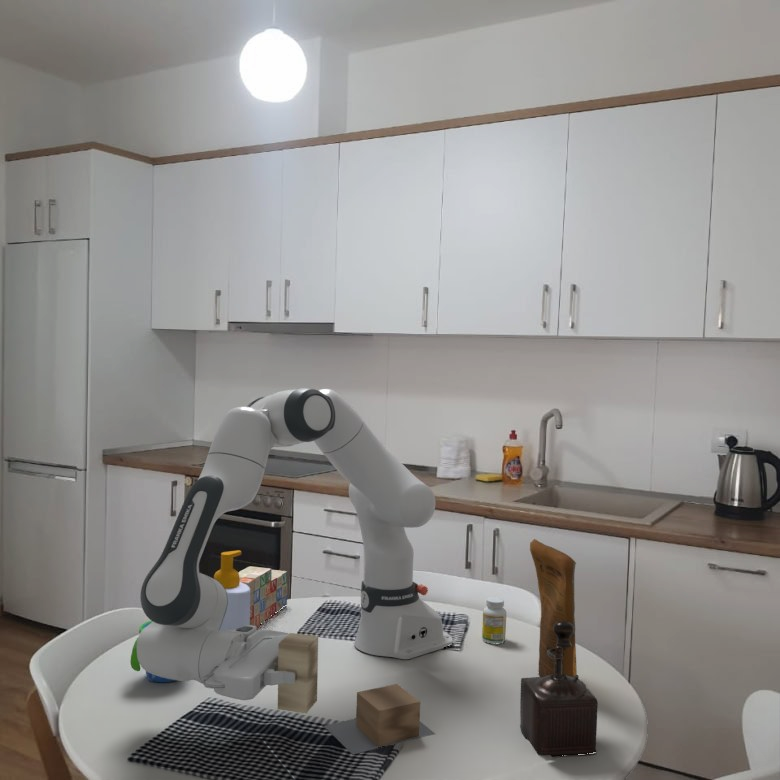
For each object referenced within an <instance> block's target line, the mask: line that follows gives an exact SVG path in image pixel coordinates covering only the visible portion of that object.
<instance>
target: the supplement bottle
mask: <svg viewBox="0 0 780 780" xmlns="http://www.w3.org/2000/svg"><path fill="white" fill-rule="evenodd" d="M504 604H505V599H503V598H501V597H496V596H495V597H494V596H493V597H491V596H490V597H487V598H486V606H485V607H484V608H483V612H482V631H481V635H482V636H481V639H482V642H484V641H485V642H484V643H486V642H487V643H486V644H489V643H495V644H494V645H497V644H496V643H502V642H504V641H505V642H506V633H507V629H506V627H507V610H506V609H505V608H504V606H505V605H504ZM505 642H504V643H505ZM502 644H503V643H502Z"/></svg>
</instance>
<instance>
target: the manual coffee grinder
mask: <svg viewBox="0 0 780 780" xmlns="http://www.w3.org/2000/svg"><path fill="white" fill-rule="evenodd" d="M553 632H554V633H555V634H556V636H557V638H558V641H557V644H556V646H557V647H556V648H553V649H549V650H547V655H548V656H549V657H551V658H552V659H556V674H552V675H548V676H545V677H540V676H535V677H534V676H533V677H532V676H531V677H522V678H520V701H519V702H520V704H519V705H520V710H519V711H520V712H519V714H520V716H519V717H520V718H519V719H520V724H519V727H520V732H521V734H522V735H523V737H524V739H525V740H527V741H528V742H529V744H531V746H532V748H533V749H534V751H535V752H536V754H537V755H538V756H550V757H552V758H553V757H554V756H560V757H565V756H564V755H578V754H587V753H588V754H589V753H593V752H597V731H598V728H597V727H598V699H597V698H596V697H595V695H594V694H593V693H592V692H591V691H590V689H588V687H587V685H586V683H584V682H583V681H582V680H580V679H579V675H578V674H577V675H576V676H567V675H565V674H564V673H563V674H561V661H562V659H563V655H562V652H563V651H565V649H567V648H568V647H571V646H572V645H571V643H570V637H571V635H572V634H573V633H574V627H573V625H572V624H571V623H570V622H567V621H559V622H557V623H555V624H554V627H553ZM553 653H556V654H553ZM562 755H563V756H562ZM554 758H555V757H554Z"/></svg>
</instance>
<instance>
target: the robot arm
mask: <svg viewBox="0 0 780 780" xmlns="http://www.w3.org/2000/svg"><path fill="white" fill-rule="evenodd" d="M310 442H314V443H315V445H316V446H317V447H318V448H319V450H320V452H321V453H322V454H323V455H324V456H325V457H326V459H327V460H328V461H329V462H330V464H331V465H332V466H333V467H334V468H335V470H336V471H337V472H338V473H339V475H340V476H341V477H342V478H343V479H344V480H346V481H347V482H348V483H349V486H348V496H349V497H348V498H349V500H350V502H351V504H352V505H353V507H354V510H355V512H356V516H357V519H358V524H359V527H360V533H361V537H362V544H363V545H362V546H363V580H362V581H361V586H360V588H361V589H360V608H361V613H360V619H359V624H358V628H357V629H358V630H357V633H356V637H355V638H354V639H355V640H354V643H353V644H354V647H355V648H356V649H357V650H359V651H361V652H363V653H366V654H368V655H372V656H378V657H379V656H380V657H390V658H395V659H400V660H409V659H414V658H416V657H419V656H422V655H426V654H429V653H433V652H436V651H438V650H439V651H440V650H442V649H444V647H446V646H448V645H449V644H452V643H453V644H454V641H453V637H452V636H451V635H450V634H449V633H448V632H447V631H445V630H444V627H443V626H444V625H443V620H442V617H441V616H440V614H439V612H438V611H436V610H435V609H433V608H432V607H431V606H430V605H428V603H426V602H425V601H424V600H423V599H421V598H420V595H422V596H426V595H427V594H428V592H429V588H428V587H427V586H426V585H424V584H418V583H416V582H415V581H413V580H414V579H413V577H414V552H415V551H414V548H413V545H412V543H411V542H410V540H409V538H408V536H407V533H406V530H405V528H407V529H409V528H420V527H423V526H425V525H426V524H427V523H428V522H429V521H430V520H431V519H432V517H433V516H434V514H435V510H436V504H437V503H436V502H437V501H436V497H435V493H434V492H433V490H432V488H430V486H428V485H427V484H425V483H424V482H423V481H422V480H420V479H419V478H418V477H417V476H415V475H414V474H413V473H412V472H411V471H410V469H408V468H407V467H406V466H405V464H403V463H402V462H401V461H400V460H399V459H398V458H397V457H396V456H395V455H393V454H392V453H391V452H390V451H389V450H388V449H387V448H386V447H385V446H384V445H383V443H381V442H380V440H379V438H377V436H376V435H375V434H374V433H373V431H372V430H371V429H370V427H369V426H368V425H367V423H366V422H365V421H364V420H363V418H362V417H361V416H360V414H359V413H358V412H357V411H356V410H355V408H354V407H352V406H351V404H350V403H349V402H348V401H347V400H346V399H345V398H343V396H341V394H339V393H338V392H337V391H336V390H333V389H331V388H321V389H314V388H310V387H300V388H297V389H287V390H281V391H278V392H277V391H276V392H275V393H272V394H269V395H267V396H262V397H258V398H255V400H253V401H251V402H250V403H248V404H247V406H237V407H234V408H231V409H230V410H228V411H227V412H226V413H225V415H224V417H223V418H222V420H221V422H220V424H219V426H218V427H217V430H216V432H215V435H214V436H213V439H212V442H211V445H210V446H209V450H208V454H207V457H206V458H205V459H206V460H205V462H204V464H203V468H202V469H201V472H200V475H199V477H198V478H197V480H195V482H194V483H193V485H192V486H191V487H190V489H189V491H188V493H187V495H186V497H185V498H184V501H183V503H182V505H181V508H180V509H179V512H178V514H177V517H176V519H175V522H174V525H173V527H172V530H171V531H170V534H169V536H168V539H167V542H166V544H165V546H164V548H163V550H162V552H161V554H160V556H159V558H158V560H157V561H156V562H155V564H154V565H153V566H152V568H151V569H150V570H149V572H148V573H147V575H146V577H145V578H144V579H143V582H142V585H141V587H140V589H141V590H140V605H141V609H142V611H143V614H145V616H146V617H147V619H149V621H153V622H152V623H151V624H150V625H148V626H147V627H145V628H144V629H143V630H142V631H141V633H140V635H138V636H137V638H138V641H137V657H138V661H139V663H140V668H142V669H143V670H144V671H145V672H146V671H147V672H149V673H151V674H153V675H156V676H159V677H163V678H167V679H173V680H174V681H181V682H186V681H197V682H198V683H200V684H202V685H203V686H204V687H205V688H208V689H212V690H213V692H215V693H216V694H217V695H220V696H223V697H227V698H231V699H235V700H240V701H249V700H253V699H254V698H256V696H257V695H259V693H261V692H262V690H263V689H265V688H266V686H271V687H272V686H276V685H277V686H278V684H283V683H285V684H294V682H295V681H296V680H297V671H296V670H290V669H287V670H286V671H278V649H279V643H280V642H281V641H282V640H283V639H284V638H285V637H286V636H287V635H289V634H290V633H291V632H290V633H289V632H285V631H280V630H272V629H258V627H256V626H252V625H247V626H244V627H241V628H238V629H235V630H227V631H225V632H224V631H219V630H220V627H221V625H222V622H223V619H224V616H225V613H226V609H227V605H228V597H227V593H226V590H225V588H224V587H223V585H222V584H221V583H220V582H219V581H217V580H215V579H214V577H211V576H210V575H209V576H208V575H207V574H204V573H202V572H200V561H201V558H202V556H203V553H204V550H205V547H206V545H207V542H208V539H209V537H210V535H211V532H212V529H213V527H214V525H215V523H216V521H217V520H218V519H219V518H220V517H221V516H222V515H223V514H225V513H227V512H231V511H237V510H240V509H242V508H245V507H246V506H249V504H250V503H252V502H253V501H254V499H255V497H256V495H257V494H258V491H259V490H260V487H261V485H262V481H263V479H264V476H265V472H266V471H265V470H266V467H267V463H268V459H269V454H270V452H271V450H272V448H283V447H284V448H285V447H292V446H295V445H300V444H303V443H310ZM419 594H420V595H419ZM446 648H447V647H446ZM215 693H214V694H215Z"/></svg>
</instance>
